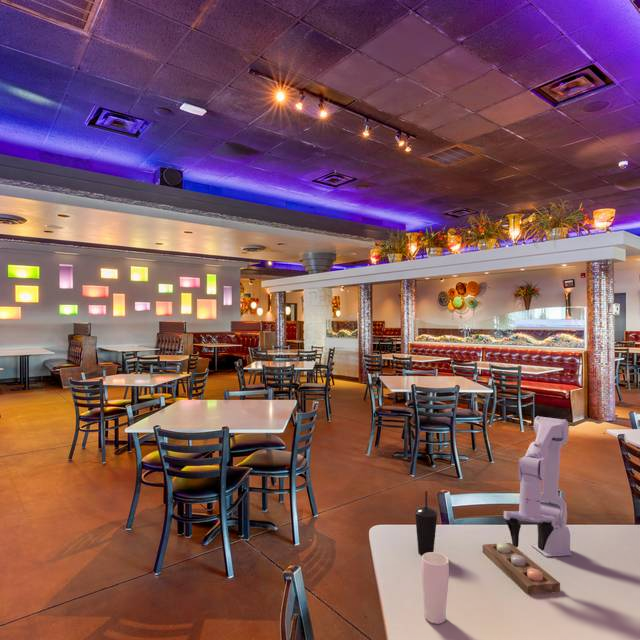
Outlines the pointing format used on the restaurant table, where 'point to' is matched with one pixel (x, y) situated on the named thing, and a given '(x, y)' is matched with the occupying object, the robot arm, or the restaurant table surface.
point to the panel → (521, 570)
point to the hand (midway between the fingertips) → (528, 547)
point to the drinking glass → (435, 586)
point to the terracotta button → (534, 575)
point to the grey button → (518, 560)
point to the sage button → (503, 548)
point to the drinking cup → (425, 527)
